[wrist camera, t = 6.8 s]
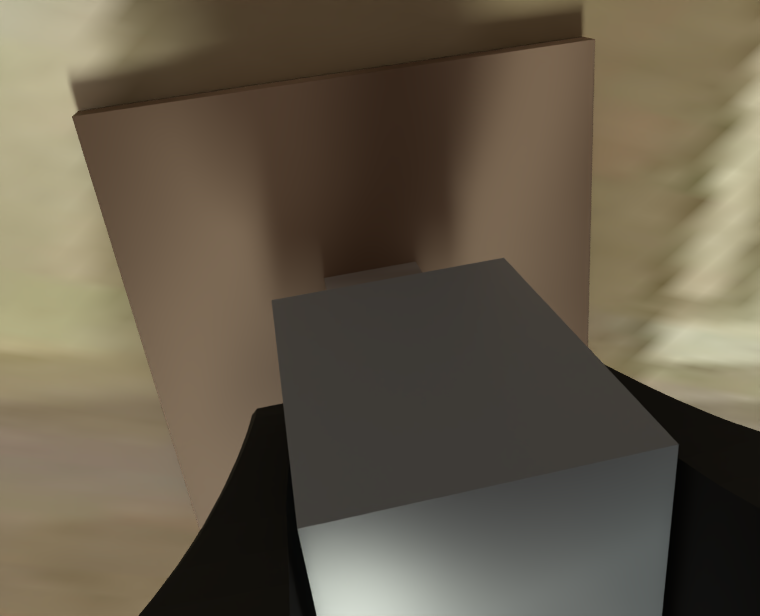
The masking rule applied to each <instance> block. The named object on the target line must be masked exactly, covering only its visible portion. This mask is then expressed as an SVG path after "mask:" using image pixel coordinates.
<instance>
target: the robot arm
mask: <svg viewBox="0 0 760 616" xmlns="http://www.w3.org/2000/svg"><path fill="white" fill-rule="evenodd" d="M605 366H606V365H605ZM606 367H607V368H608V369H609V370H610V372H611V373H612V374H613V375H614V376H615V377H616V378H617V379H618V380H619V381H620V382H621V383H622V384H623V385H624V386H625V388H626V389H627V390H628V391H629V392H630V393H631V394H632V395H633V396H634V397H635V398H636V399H637V400H638V401H639V402H640V404H641V405H642V406H643V407H644V408H645V409H646V410H647V411H648V412H649V413H650V414H651V415H652V416H653V417H654V418H655V420H656V421H657V422H658V423H659V424H660V425H661V426H662V427H663V428H664V429H665V430H666V431H667V432H668V433H669V435H670V436H671V437H672V438H673V439H674V440H675V441H676V442H677V443H678V444H679V447H678V457H677V468H676V478H675V488H674V498H673V508H672V518H671V528H670V539H669V549H668V559H667V569H666V579H665V589H664V599H663V610H662V616H760V432H759V431H756V430H753V429H751V428H748V427H745V426H742V425H739V424H736V423H733V422H730V421H728V420H725V419H722V418H720V417H717V416H714V415H712V414H709V413H707V412H705V411H702V410H700V409H698V408H695V407H693V406H690V405H688V404H686V403H683V402H681V401H679V400H676V399H674V398H672V397H670V396H668V395H665V394H663V393H661V392H659V391H657V390H655V389H653V388H650V387H648V386H646V385H644V384H642V383H640V382H638V381H636V380H634V379H632V378H630V377H628V376H626V375H624V374H622V373H620V372H618V371H616V370H614V369H612V368H610V367H608V366H606ZM139 616H317V615H316V610H315V606H314V601H313V597H312V592H311V588H310V583H309V579H308V574H307V570H306V565H305V561H304V557H303V552H302V548H301V543H300V539H299V534H298V530H297V522H296V513H295V504H294V495H293V486H292V477H291V468H290V460H289V451H288V442H287V433H286V424H285V415H284V407H283V403H282V404H277V405H272V406H267V407H262V408H257V409H256V410H255V412H254V413H253V414H252V417H251V421H250V424H249V427H248V430H247V433H246V436H245V439H244V442H243V444H242V447H241V449H240V452H239V455H238V457H237V459H236V462H235V464H234V466H233V468H232V470H231V473H230V475H229V477H228V479H227V481H226V484H225V486H224V488H223V490H222V492H221V494H220V496H219V497H218V499H217V501H216V503H215V505H214V507H213V508H212V510H211V512H210V514H209V516H208V518H207V520H206V521H205V523H204V525H203V527H202V528H201V530H200V532H199V533H198V535H197V536H196V538H195V540H194V541H193V543H192V544H191V546H190V548H189V549H188V551H187V552H186V554H185V555H184V556H183V558H182V559H181V561H180V562H179V564H178V565H177V567H176V568H175V570H174V571H173V572H172V574H171V575H170V576H169V578H168V579H167V580H166V581H165V583H164V584H163V585H162V587H161V588H160V589H159V591H158V592H157V593H156V595H155V596H154V597H153V599H152V600H151V601H150V602H149V604H148V605H147V606H146V607H145V608H144V610H143V611H142V612H141V613H140V614H139Z"/></svg>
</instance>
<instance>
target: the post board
mask: <svg viewBox="0 0 760 616" xmlns="http://www.w3.org/2000/svg"><path fill="white" fill-rule="evenodd" d="M594 58H595V39H591V38H586V37H579V38H572V39H565V40H558V41H552V42H545V43H538V44H531V45H525V46H518V47H511V48H504V49H497V50H491V51H484V52H477V53H470V54H463V55H457V56H450V57H443V58H436V59H429V60H423V61H416V62H409V63H402V64H396V65H389V66H382V67H375V68H368V69H362V70H355V71H348V72H341V73H334V74H328V75H321V76H314V77H307V78H300V79H294V80H287V81H280V82H273V83H267V84H260V85H253V86H246V87H239V88H233V89H226V90H219V91H212V92H205V93H199V94H192V95H185V96H178V97H171V98H165V99H158V100H151V101H144V102H138V103H131V104H124V105H117V106H110V107H104V108H97V109H90V110H83V111H78V112H77V113H76V114H75V115H73V116H72V118H73V121H74V124H75V128H76V131H77V134H78V137H79V141H80V144H81V147H82V150H83V154H84V157H85V160H86V163H87V167H88V170H89V173H90V176H91V179H92V183H93V186H94V189H95V192H96V196H97V199H98V202H99V205H100V209H101V212H102V215H103V218H104V222H105V225H106V228H107V231H108V235H109V238H110V241H111V244H112V247H113V251H114V254H115V257H116V260H117V264H118V267H119V270H120V273H121V277H122V280H123V283H124V286H125V290H126V293H127V296H128V299H129V303H130V306H131V309H132V312H133V316H134V319H135V322H136V325H137V328H138V332H139V335H140V338H141V341H142V345H143V348H144V351H145V354H146V358H147V361H148V364H149V367H150V371H151V374H152V377H153V380H154V384H155V387H156V390H157V393H158V396H159V400H160V403H161V406H162V409H163V413H164V416H165V419H166V422H167V426H168V429H169V432H170V435H171V439H172V442H173V445H174V448H175V452H176V455H177V458H178V461H179V464H180V468H181V471H182V474H183V477H184V481H185V484H186V487H187V490H188V494H189V497H190V500H191V503H192V507H193V510H194V513H195V516H196V520H197V523H198V526H199V529H201V528H202V527H203V525H204V523H205V521H206V520H207V518H208V516H209V514H210V512H211V510H212V508H213V507H214V505H215V503H216V501H217V499H218V497H219V496H220V494H221V492H222V490H223V488H224V486H225V484H226V481H227V479H228V477H229V475H230V473H231V470H232V468H233V466H234V464H235V462H236V459H237V457H238V455H239V452H240V449H241V447H242V444H243V442H244V439H245V436H246V433H247V430H248V427H249V424H250V421H251V417H252V414H253V413H254V412H255V410H256V409H257V408H262V407H267V406H272V405H277V404H282V403H283V398H282V389H281V380H280V371H279V362H278V353H277V345H276V336H275V327H274V318H273V309H272V300H275V299H281V298H286V297H292V296H297V295H303V294H308V293H314V292H319V291H324V290H330V289H335V288H341V287H346V286H352V285H357V284H363V283H368V282H374V281H379V280H385V279H390V278H395V277H401V276H406V275H412V274H417V273H423V272H428V271H434V270H439V269H445V268H450V267H455V266H461V265H466V264H472V263H477V262H483V261H488V260H494V259H499V258H505V259H506V261H507V262H508V263H509V264H510V265H511V266H512V267H513V268H514V269H515V270H516V271H517V272H518V273H519V274H520V275H521V277H522V278H523V279H524V280H525V281H526V282H527V283H528V284H529V285H530V286H531V287H532V288H533V289H534V290H535V291H536V293H537V294H538V295H539V296H540V297H541V298H542V299H543V300H544V301H545V302H546V303H547V304H548V305H549V306H550V307H551V309H552V310H553V311H554V312H555V313H556V314H557V315H558V316H559V317H560V318H561V319H562V320H563V321H564V322H565V323H566V325H567V326H568V327H569V328H570V329H571V330H572V331H573V332H574V333H575V334H576V335H577V336H578V337H579V338H580V339H581V341H582V342H583V343H584V344H585V345H586V346H587V347H588V315H589V272H590V229H591V187H592V144H593V101H594Z"/></svg>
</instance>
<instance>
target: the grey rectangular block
mask: <svg viewBox="0 0 760 616" xmlns="http://www.w3.org/2000/svg"><path fill="white" fill-rule="evenodd" d="M272 309H273V318H274V327H275V336H276V345H277V353H278V362H279V371H280V380H281V389H282V398H283V407H284V415H285V424H286V433H287V442H288V451H289V460H290V468H291V477H292V486H293V495H294V504H295V513H296V522H297V530H298V534H299V539H300V543H301V548H302V552H303V557H304V561H305V565H306V570H307V574H308V579H309V583H310V588H311V592H312V597H313V601H314V606H315V610H316V615H317V616H662V610H663V599H664V589H665V579H666V569H667V559H668V549H669V539H670V528H671V518H672V508H673V498H674V488H675V478H676V468H677V457H678V447H679V444H678V443H677V442H676V441H675V440H674V439H673V438H672V437H671V436H670V435H669V433H668V432H667V431H666V430H665V429H664V428H663V427H662V426H661V425H660V424H659V423H658V422H657V421H656V420H655V418H654V417H653V416H652V415H651V414H650V413H649V412H648V411H647V410H646V409H645V408H644V407H643V406H642V405H641V404H640V402H639V401H638V400H637V399H636V398H635V397H634V396H633V395H632V394H631V393H630V392H629V391H628V390H627V389H626V388H625V386H624V385H623V384H622V383H621V382H620V381H619V380H618V379H617V378H616V377H615V376H614V375H613V374H612V373H611V372H610V370H609V369H608V368H607V367H606V366H605V365H604V364H603V363H602V362H601V361H600V360H599V359H598V358H597V357H596V356H595V354H594V353H593V352H592V351H591V350H590V349H589V348H588V347H587V346H586V345H585V344H584V343H583V342H582V341H581V339H580V338H579V337H578V336H577V335H576V334H575V333H574V332H573V331H572V330H571V329H570V328H569V327H568V326H567V325H566V323H565V322H564V321H563V320H562V319H561V318H560V317H559V316H558V315H557V314H556V313H555V312H554V311H553V310H552V309H551V307H550V306H549V305H548V304H547V303H546V302H545V301H544V300H543V299H542V298H541V297H540V296H539V295H538V294H537V293H536V291H535V290H534V289H533V288H532V287H531V286H530V285H529V284H528V283H527V282H526V281H525V280H524V279H523V278H522V277H521V275H520V274H519V273H518V272H517V271H516V270H515V269H514V268H513V267H512V266H511V265H510V264H509V263H508V262H507V261H506V259H505V258H499V259H494V260H488V261H483V262H477V263H472V264H466V265H461V266H455V267H450V268H445V269H439V270H434V271H428V272H423V273H417V274H412V275H406V276H401V277H395V278H390V279H385V280H379V281H374V282H368V283H363V284H357V285H352V286H346V287H341V288H335V289H330V290H324V291H319V292H314V293H308V294H303V295H297V296H292V297H286V298H281V299H275V300H272Z"/></svg>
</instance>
